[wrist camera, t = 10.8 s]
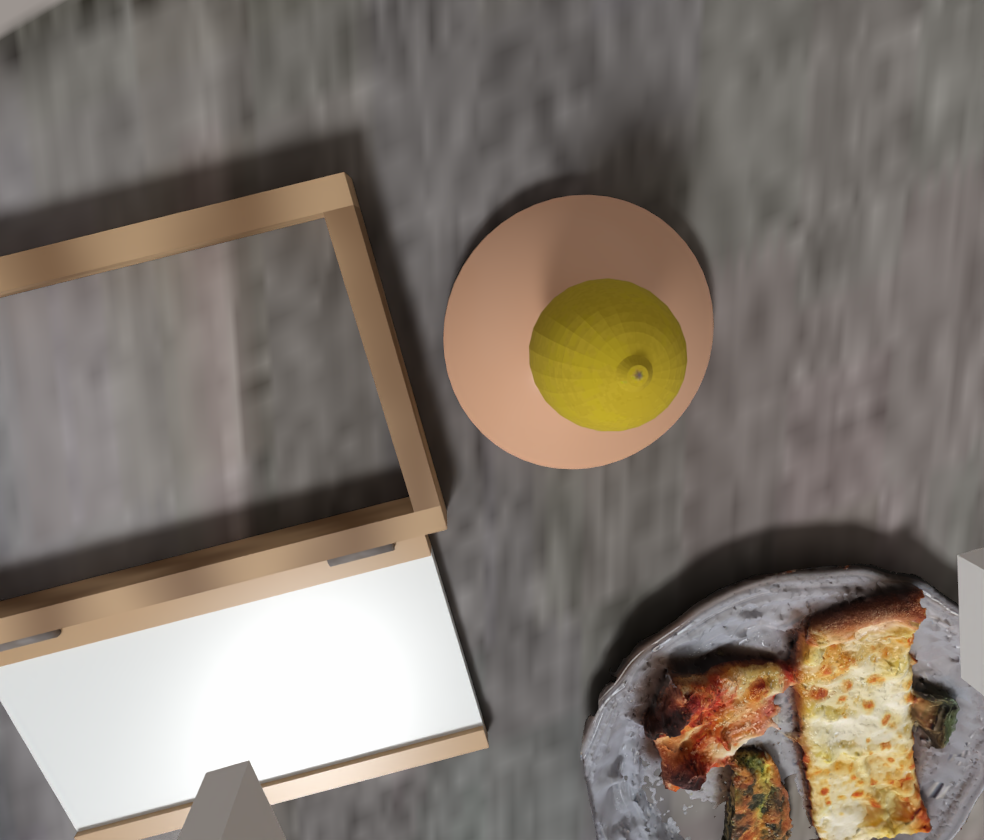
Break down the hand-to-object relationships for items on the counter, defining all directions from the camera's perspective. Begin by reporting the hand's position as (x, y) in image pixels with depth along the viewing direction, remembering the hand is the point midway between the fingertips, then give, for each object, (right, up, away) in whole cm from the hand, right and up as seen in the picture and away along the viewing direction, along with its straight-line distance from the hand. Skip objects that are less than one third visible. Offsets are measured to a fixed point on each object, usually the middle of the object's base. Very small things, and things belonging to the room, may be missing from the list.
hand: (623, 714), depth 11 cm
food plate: (+14, -13, +24) cm, 31 cm away
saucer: (+1, +9, +16) cm, 19 cm away
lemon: (+1, +9, +15) cm, 18 cm away
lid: (-15, -8, +20) cm, 26 cm away
